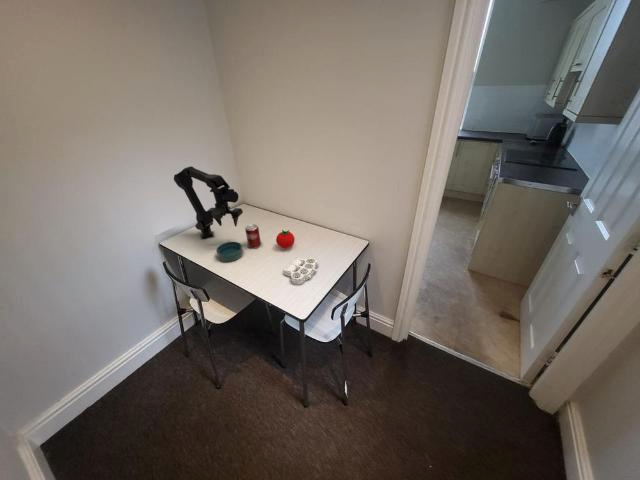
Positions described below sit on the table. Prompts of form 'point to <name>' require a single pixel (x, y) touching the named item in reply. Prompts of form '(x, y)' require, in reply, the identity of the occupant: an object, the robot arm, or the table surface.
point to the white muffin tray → (301, 269)
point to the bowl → (229, 251)
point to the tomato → (285, 239)
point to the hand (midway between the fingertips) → (228, 226)
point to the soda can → (253, 236)
